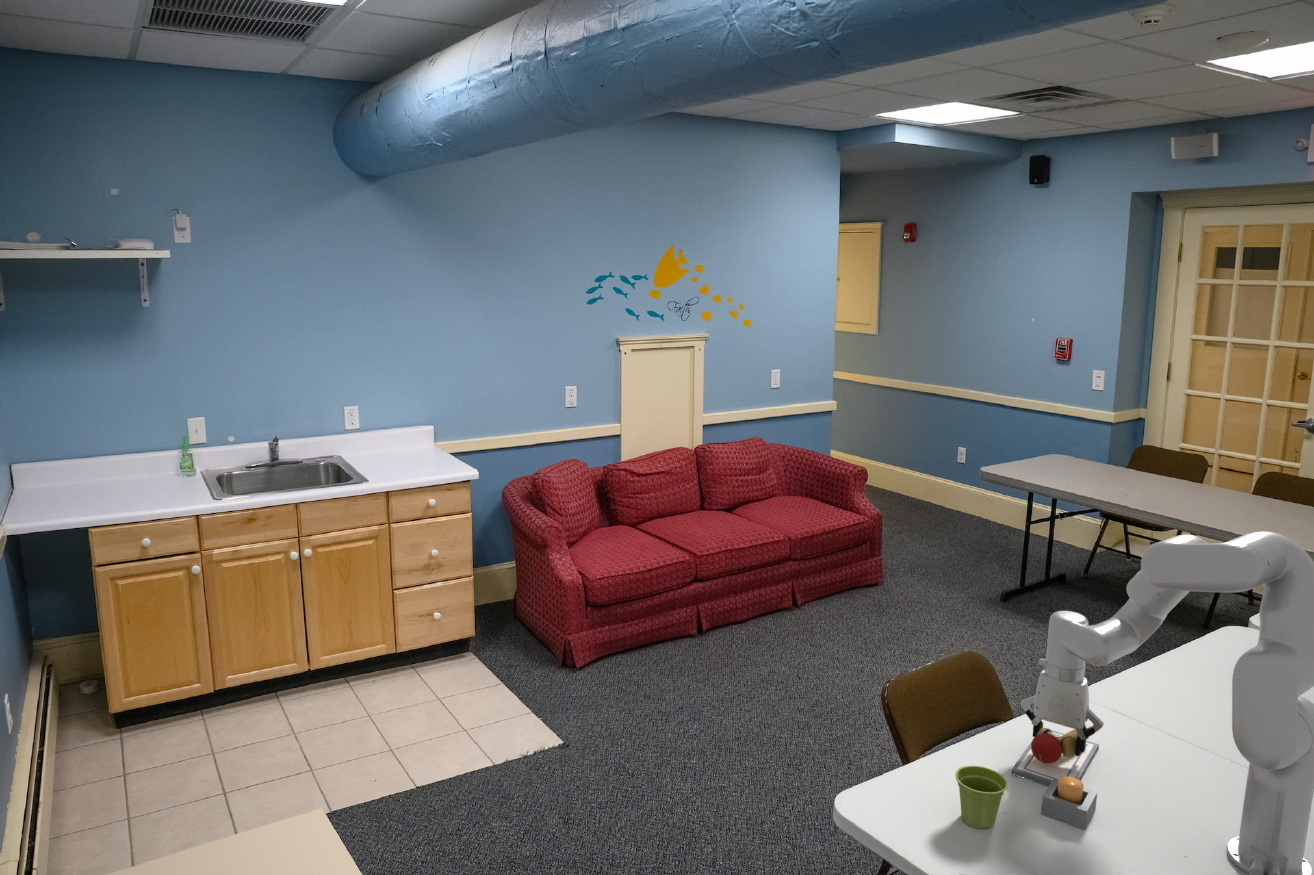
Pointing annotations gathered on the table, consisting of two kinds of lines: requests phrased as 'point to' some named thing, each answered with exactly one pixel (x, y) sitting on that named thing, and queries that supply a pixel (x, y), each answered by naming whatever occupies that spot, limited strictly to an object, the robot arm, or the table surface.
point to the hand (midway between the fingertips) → (1058, 746)
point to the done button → (1070, 789)
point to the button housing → (1068, 807)
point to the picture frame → (1054, 765)
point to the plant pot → (980, 794)
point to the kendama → (1053, 745)
